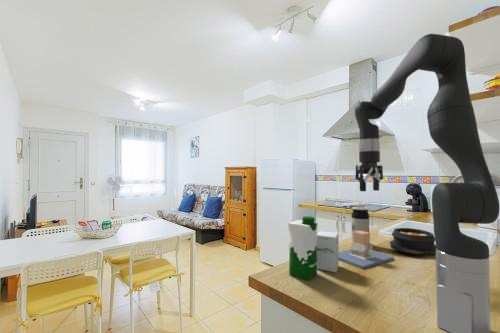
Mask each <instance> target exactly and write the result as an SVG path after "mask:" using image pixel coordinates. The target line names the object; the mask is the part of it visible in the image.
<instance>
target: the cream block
mask: <svg viewBox="0 0 500 333" xmlns="http://www.w3.org/2000/svg"><path fill="white" fill-rule="evenodd" d="M350 248H351V254H352V255H355V256H358V257H361V258H364V259H365V258H368V257H372V250H373V244H372V243H370V244H367V245H360V244H356V243H353V242H352V241H351V242H350Z"/></svg>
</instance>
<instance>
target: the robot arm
mask: <svg viewBox="0 0 500 333" xmlns="http://www.w3.org/2000/svg"><path fill="white" fill-rule="evenodd" d="M466 68H467V64H466V52H465V46H464V43H463V41H462V40H461V39H460V38H459V37H455V36H452V35H451V36H450V35H444V34H437V33H428V34H426V35H424V36H421V38H419V39H418V40H417V41H416V42H415V43H414V44H413V46H412V47H411V48H410V50H409V51H408V52H407V54H406V55H405V56H404V58H403V59H402V60H401V61H400V63H399V64H398V66H397V67H396V68H395V70H394V71H393V72H392V74H391V76H389V78H388V79H387V80H386V81H385V82H384V84H382V85H381V87H379V88H378V89H377V90H376V91H375V92H374V93H373V94H372V96H371V99H370V101H366V100H365V101H359V102H358V103H357V104H356V105H355V108H354V116H355V119H356V122H357V126H358V130H359V142H358V143H359V144H358V154H359V155H358V157H359V160H358V161H359V163H360V164H355V180H356V181H358V182H359V192H367V182H366V181H367V179H369V177H370V178H372V190H373V191H376V192H377V191H380V181H381V180H382V181H383V179H384V170H383V165H382V164H379V165H378V163H380V162H381V143H380V137H379V136H380V132H379V131H380V129H379V126H378V125H376V124H373V123H372V122H370V120H377V119H380V118H381V117H382V116H383V115H384V113H386V110H387V109H388V107H389V106H390V105H392V104H393V103H394V102H395V101H396V100H398V99H399V98H400V97H401V96H402V95H403V93H404V91H405V87H406V85H407V84H406V83H407V79H408V78H409V77H410V76H411V75H412V74H414V73H415V72H416V71H419V70H420V71H425V72H432V73H434V74H435V75H436V78H437V83H438V84H437V85H438V91H437V92H436V95H435V96H434V98H433V99H432V100H431V103H430V104H429V106H428V108H427V114H426V116H427V117H426V118H427V119H426V120H427V124H428V132H429V136H430V138H431V140H432V141H433V142H434V143H435V144H436V145H437V147H439V149H441V151H443V152H444V153H445V154H446V155H447V156H448V157H449V158H450V159H451V160H452V161H453V162H454V164H455V165H456V166H457V168H458V169H459V171H460V174H461V176H462V179H463V182H440V183H438V184H436V185H435V186H434V188H433V190H432V194H431V209H432V218H433V220H432V222H433V235H434V237H435V245H436V252H435V275H436V276H435V280H436V281H435V282H436V284H435V286H436V289H435V290H436V321H437V322H436V323H437V324H436V326H437V327H438V328H440V329H442V330H444V331H446V332H448V333H492V327H491V326H492V325H491V321H492V320H491V318H492V317H491V290H490V289H491V287H490V285H491V284H490V282H491V280H490V249H489V248H490V247H489V245H488V244H487V243H486V242H485V241H482V240H480V239H478V238H475V237H473V236H470V235H467V234H464V232H462V231H461V229H460V224H474V225H475V224H478V225H479V224H481V225H482V224H483V225H486V224H487V225H488V224H490V225H491V224H493V223H495V222H496V221H497V220H498V218H499V216H500V199H499V196H498V191H497V188H496V187H495V184H494V181H493V178H492V175H491V173H490V170H489V166H488V164H487V162H486V158H485V155H484V152H483V148H482V144H481V139H480V135H479V129H478V124H477V118H476V114H475V111H474V106H473V104H472V103H473V102H472V100H471V94H470V88H469V82H468V78H467V69H466Z"/></svg>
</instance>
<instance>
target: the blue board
mask: <svg viewBox="0 0 500 333" xmlns="http://www.w3.org/2000/svg"><path fill="white" fill-rule="evenodd" d="M394 258H395V256H391V255H389V254H386V253H383V252H382V253H381V252H379V251H375V250H373V249H372V257H368V258H365V259H364V258H361V257H358V256H355V255H352V254H351V249H347V250H346V249H345V250H342V251H339V253H338V261H341V262H344V263H345V264H349V265H351V266H354V267H356V268H359V269H362V270H364V269H367V268H368V269H369V268H370V267H374V266H376V265H381V264H384V263H386V262H390V261H392V260H394Z"/></svg>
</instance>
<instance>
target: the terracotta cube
mask: <svg viewBox="0 0 500 333" xmlns="http://www.w3.org/2000/svg"><path fill="white" fill-rule="evenodd" d="M370 237H371V234H370V232H369V233H368V232H364V231H355V232H353V243H356V244H360V245H367V244H371V240H370V239H371V238H370Z"/></svg>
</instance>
